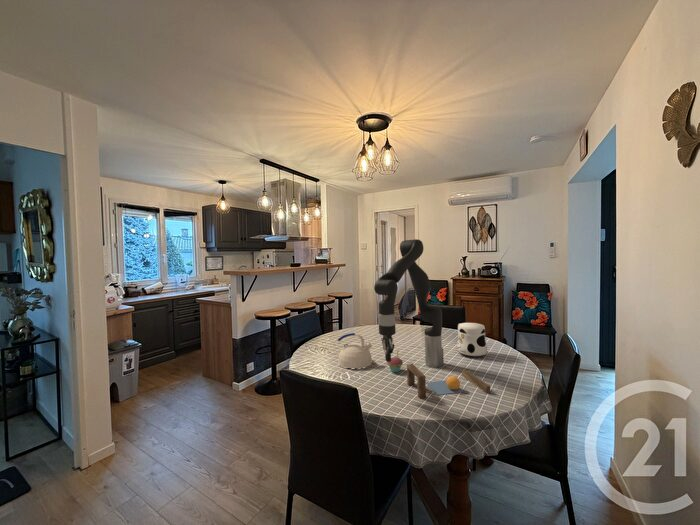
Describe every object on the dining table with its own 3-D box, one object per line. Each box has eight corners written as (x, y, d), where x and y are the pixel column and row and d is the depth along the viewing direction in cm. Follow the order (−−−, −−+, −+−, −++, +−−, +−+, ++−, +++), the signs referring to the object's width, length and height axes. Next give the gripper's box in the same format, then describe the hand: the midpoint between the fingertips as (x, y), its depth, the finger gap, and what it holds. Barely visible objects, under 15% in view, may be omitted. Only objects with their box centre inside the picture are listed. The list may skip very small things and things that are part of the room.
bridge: (413, 383, 145) (412, 363, 144) (426, 397, 130) (425, 375, 130) (407, 384, 144) (406, 364, 144) (419, 398, 129) (418, 376, 129)
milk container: (451, 352, 188) (450, 324, 188) (472, 348, 194) (471, 321, 194) (471, 360, 172) (470, 330, 172) (493, 356, 178) (493, 326, 178)
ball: (454, 372, 140) (442, 376, 140) (459, 377, 134) (447, 381, 134) (458, 384, 140) (446, 388, 140) (463, 389, 134) (451, 393, 134)
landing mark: (450, 380, 147) (450, 379, 147) (464, 391, 134) (464, 391, 134) (425, 383, 145) (425, 382, 145) (437, 395, 132) (437, 394, 132)
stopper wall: (465, 375, 152) (465, 369, 152) (490, 392, 132) (490, 386, 132) (462, 375, 152) (462, 369, 152) (486, 393, 132) (486, 386, 132)
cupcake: (401, 367, 166) (400, 346, 165) (404, 373, 157) (403, 351, 157) (386, 368, 165) (385, 346, 165) (388, 374, 157) (387, 351, 157)
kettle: (370, 370, 163) (369, 338, 163) (334, 369, 167) (332, 337, 167) (374, 358, 183) (373, 329, 182) (342, 356, 187) (341, 328, 187)
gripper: (399, 326, 128) (401, 365, 129) (390, 319, 141) (391, 355, 142) (383, 327, 127) (384, 367, 127) (375, 321, 140) (376, 357, 140)
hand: (388, 361), depth 135 cm, fingers closed
